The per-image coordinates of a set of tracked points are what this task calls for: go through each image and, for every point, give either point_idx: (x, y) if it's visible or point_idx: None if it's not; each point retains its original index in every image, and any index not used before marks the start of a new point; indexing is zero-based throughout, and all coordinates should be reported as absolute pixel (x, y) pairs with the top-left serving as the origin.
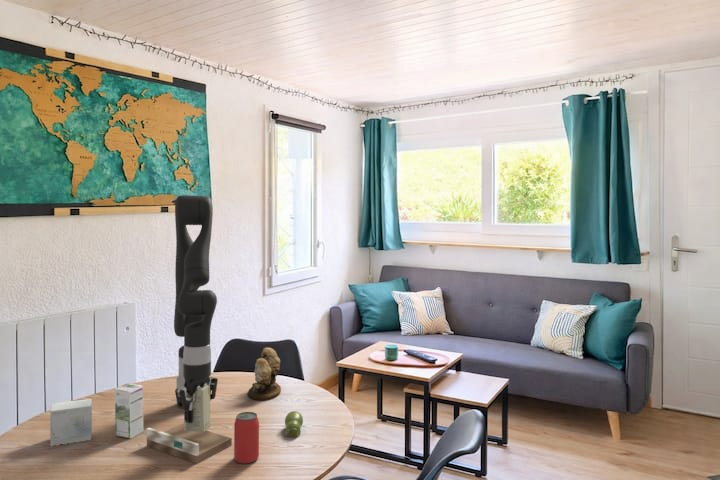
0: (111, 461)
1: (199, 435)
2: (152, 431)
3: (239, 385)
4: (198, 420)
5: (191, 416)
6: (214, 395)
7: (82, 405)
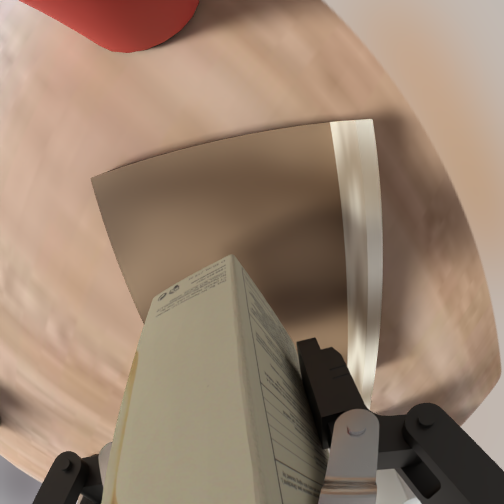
0: (447, 340)
1: None
2: (369, 401)
3: (18, 450)
4: (261, 329)
5: (322, 370)
6: (56, 472)
7: (414, 500)
